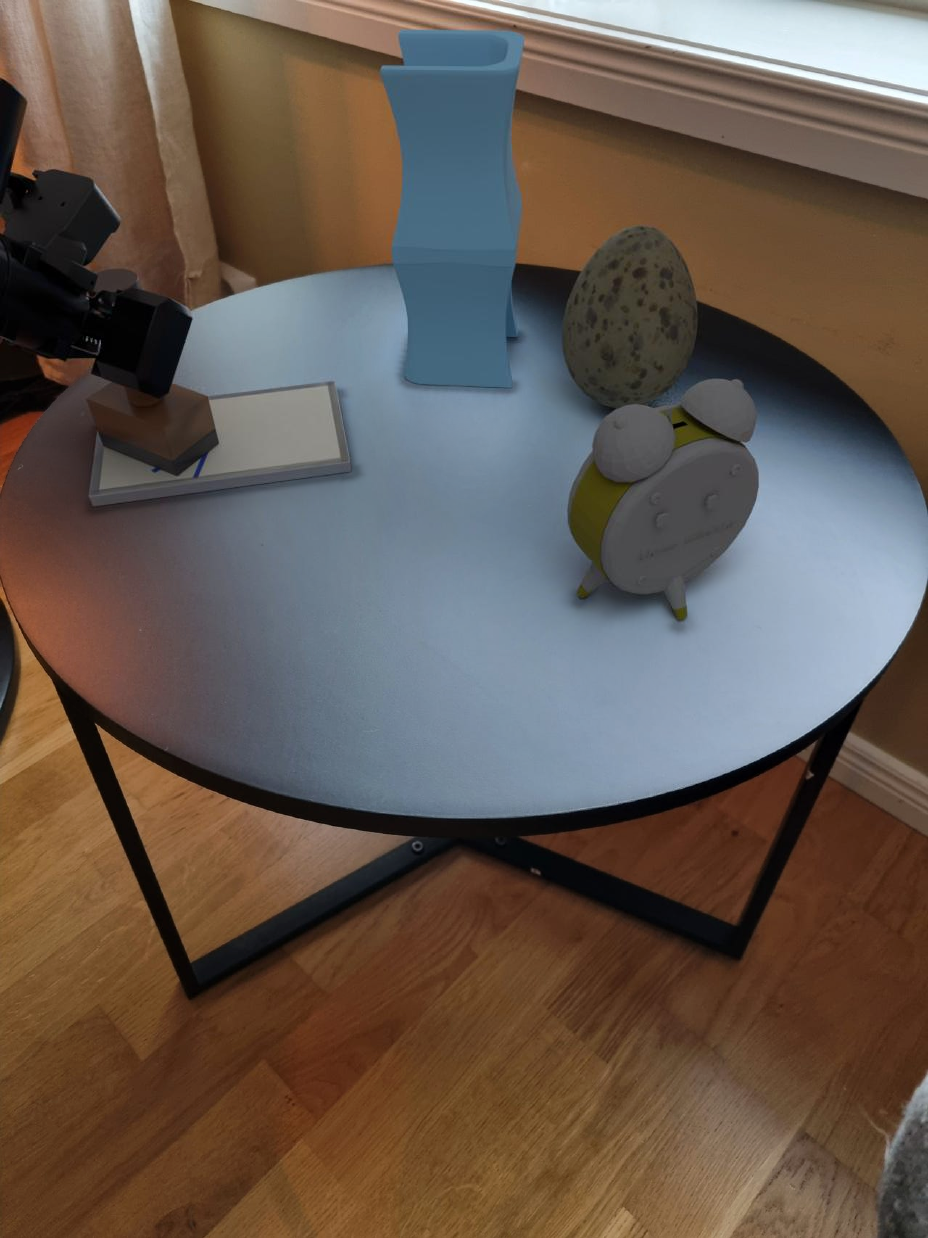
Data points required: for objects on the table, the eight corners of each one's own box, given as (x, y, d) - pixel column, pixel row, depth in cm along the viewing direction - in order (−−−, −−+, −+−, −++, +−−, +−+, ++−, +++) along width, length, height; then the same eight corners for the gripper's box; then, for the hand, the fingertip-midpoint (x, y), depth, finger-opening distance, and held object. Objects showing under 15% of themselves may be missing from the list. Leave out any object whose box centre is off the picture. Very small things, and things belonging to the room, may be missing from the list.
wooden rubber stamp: (177, 476, 71) (128, 309, 61) (102, 446, 74) (43, 281, 64) (219, 443, 74) (179, 278, 64) (146, 415, 77) (96, 253, 67)
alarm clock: (693, 535, 67) (733, 351, 56) (753, 594, 63) (809, 406, 52) (556, 587, 64) (570, 401, 53) (609, 653, 60) (637, 465, 49)
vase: (416, 327, 89) (398, 28, 70) (518, 331, 88) (527, 29, 70) (401, 383, 82) (378, 69, 64) (511, 388, 81) (519, 70, 63)
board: (92, 507, 71) (88, 496, 70) (103, 418, 79) (99, 408, 78) (351, 471, 73) (350, 461, 72) (336, 389, 81) (335, 379, 81)
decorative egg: (655, 450, 74) (684, 272, 64) (536, 414, 78) (544, 240, 67) (700, 385, 81) (734, 213, 70) (588, 355, 85) (603, 187, 74)
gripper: (129, 171, 51) (281, 279, 66) (-91, 118, 58) (92, 227, 72) (70, 363, 52) (233, 427, 67) (-140, 290, 59) (50, 363, 73)
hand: (149, 355), depth 70 cm, fingers closed on wooden rubber stamp, 3 cm apart
